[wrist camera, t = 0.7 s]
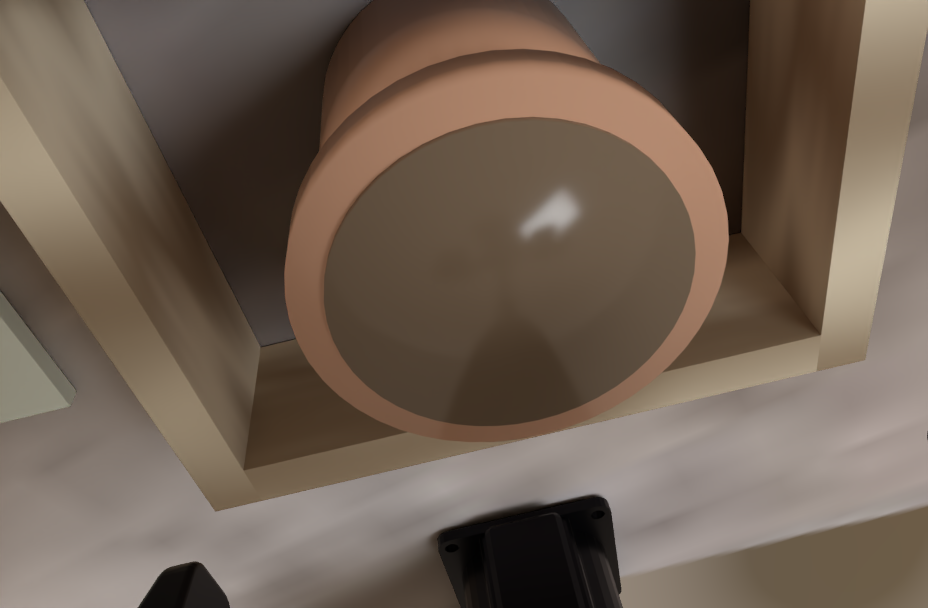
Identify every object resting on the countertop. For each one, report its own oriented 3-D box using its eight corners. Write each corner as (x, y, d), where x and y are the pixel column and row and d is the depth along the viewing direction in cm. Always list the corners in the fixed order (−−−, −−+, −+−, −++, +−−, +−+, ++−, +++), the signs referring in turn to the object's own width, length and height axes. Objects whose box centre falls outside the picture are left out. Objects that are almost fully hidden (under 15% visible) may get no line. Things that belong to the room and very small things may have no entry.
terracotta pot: (617, 203, 20) (728, 397, 14) (356, 266, 20) (360, 483, 14) (592, -91, 15) (739, 20, 10) (257, -5, 16) (204, 152, 10)
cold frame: (780, 256, 22) (865, 360, 18) (236, 386, 22) (215, 511, 19) (828, -342, 13) (1002, -366, 10) (-45, -114, 14) (-180, -59, 10)
